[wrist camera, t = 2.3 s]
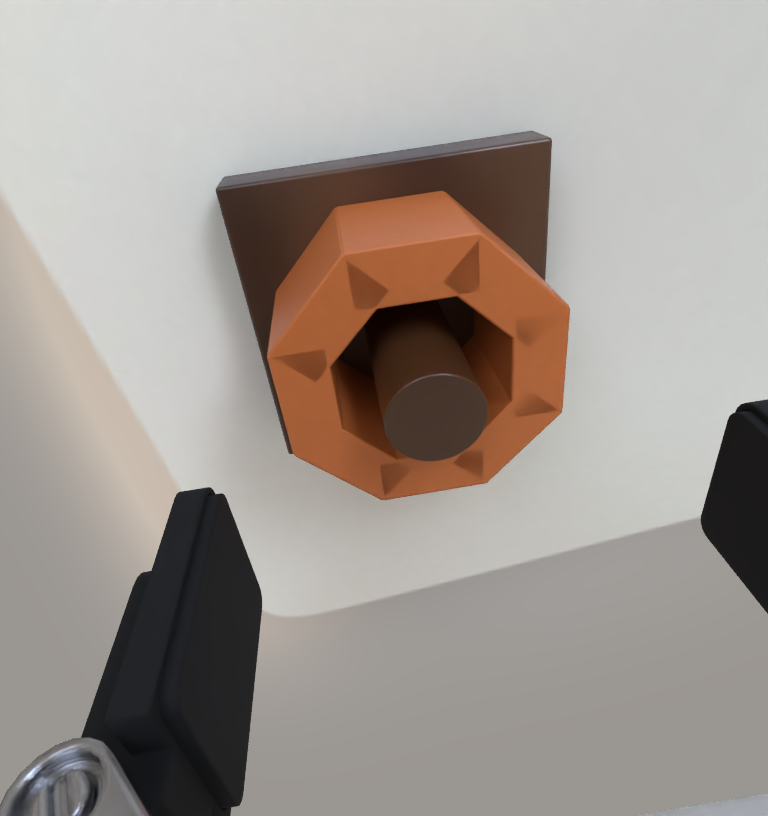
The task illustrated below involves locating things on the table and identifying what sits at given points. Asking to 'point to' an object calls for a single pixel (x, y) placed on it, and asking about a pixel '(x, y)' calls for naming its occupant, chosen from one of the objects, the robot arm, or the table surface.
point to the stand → (411, 323)
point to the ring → (398, 285)
